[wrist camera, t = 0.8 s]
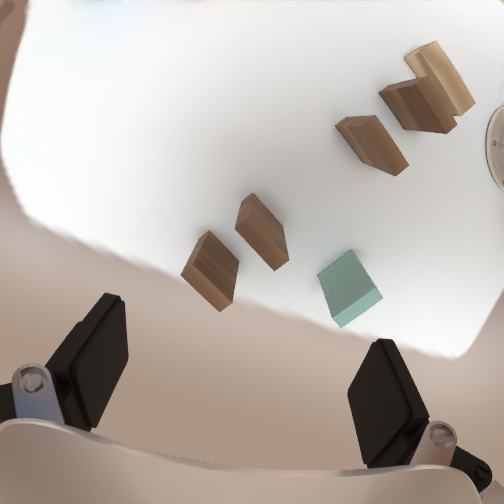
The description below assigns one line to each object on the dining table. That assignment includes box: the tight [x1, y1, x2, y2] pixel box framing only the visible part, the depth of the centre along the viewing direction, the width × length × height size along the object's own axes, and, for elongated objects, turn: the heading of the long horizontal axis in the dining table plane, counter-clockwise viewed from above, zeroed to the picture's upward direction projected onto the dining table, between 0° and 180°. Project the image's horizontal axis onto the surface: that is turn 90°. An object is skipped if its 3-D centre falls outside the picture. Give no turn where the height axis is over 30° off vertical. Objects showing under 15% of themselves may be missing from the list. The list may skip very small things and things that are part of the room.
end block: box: [404, 41, 475, 116], centre depth 25 cm, size 3×8×4 cm, turn 41°
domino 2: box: [235, 193, 289, 271], centre depth 30 cm, size 2×5×9 cm, turn 41°
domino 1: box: [181, 231, 239, 312], centre depth 31 cm, size 2×5×9 cm, turn 41°
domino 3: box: [335, 115, 409, 176], centre depth 26 cm, size 2×5×9 cm, turn 41°
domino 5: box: [379, 76, 457, 134], centre depth 24 cm, size 2×5×9 cm, turn 41°
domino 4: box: [318, 250, 383, 328], centre depth 32 cm, size 2×5×9 cm, turn 131°
